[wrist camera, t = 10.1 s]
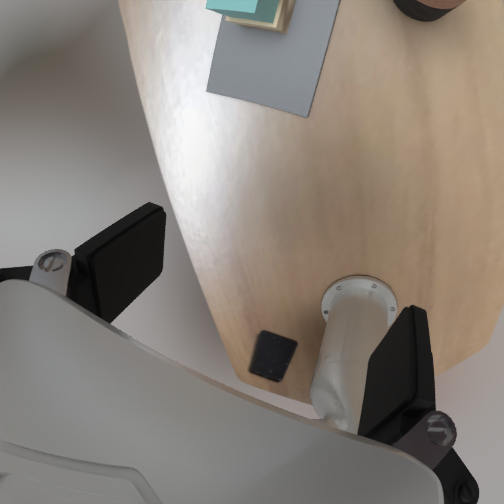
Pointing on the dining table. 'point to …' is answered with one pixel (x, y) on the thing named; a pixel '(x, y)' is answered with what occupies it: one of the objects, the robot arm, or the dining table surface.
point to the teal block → (246, 9)
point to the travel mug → (427, 8)
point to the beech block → (280, 20)
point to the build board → (274, 59)
